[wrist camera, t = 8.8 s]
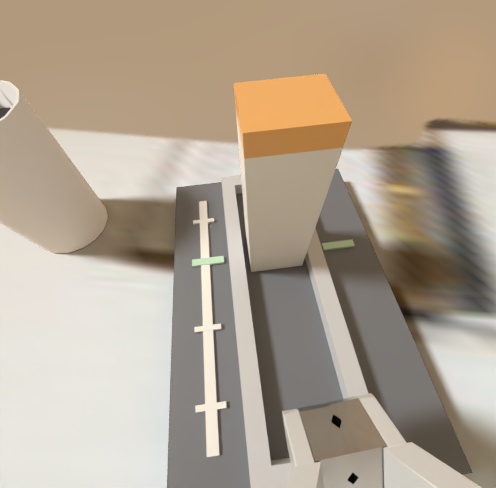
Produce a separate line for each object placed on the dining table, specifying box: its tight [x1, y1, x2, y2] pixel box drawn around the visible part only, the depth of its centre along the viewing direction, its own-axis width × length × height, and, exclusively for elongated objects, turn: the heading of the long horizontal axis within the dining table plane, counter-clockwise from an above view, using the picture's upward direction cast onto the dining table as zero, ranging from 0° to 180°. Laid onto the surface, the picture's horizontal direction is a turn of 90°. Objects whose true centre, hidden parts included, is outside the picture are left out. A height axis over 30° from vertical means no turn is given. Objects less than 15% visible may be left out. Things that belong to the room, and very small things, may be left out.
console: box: [167, 169, 472, 488], centre depth 16 cm, size 20×14×2 cm
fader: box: [234, 74, 352, 272], centre depth 13 cm, size 3×4×10 cm
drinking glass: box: [0, 80, 108, 254], centre depth 17 cm, size 7×7×10 cm
